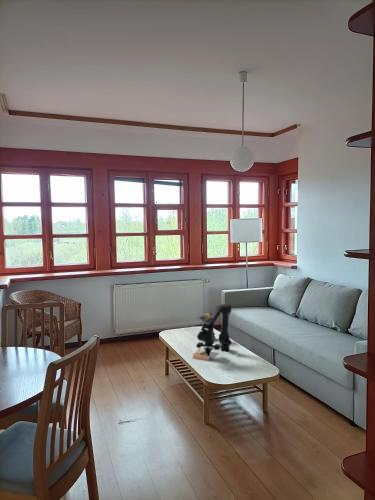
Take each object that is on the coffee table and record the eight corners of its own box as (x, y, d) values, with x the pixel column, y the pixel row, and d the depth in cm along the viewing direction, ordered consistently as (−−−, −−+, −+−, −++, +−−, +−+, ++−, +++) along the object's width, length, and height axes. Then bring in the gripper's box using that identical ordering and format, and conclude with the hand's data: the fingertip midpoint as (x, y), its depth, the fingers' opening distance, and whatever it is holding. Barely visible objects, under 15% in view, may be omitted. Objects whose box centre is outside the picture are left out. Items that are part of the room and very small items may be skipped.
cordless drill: (193, 339, 340) (193, 313, 338) (213, 337, 347) (213, 311, 345) (196, 342, 332) (197, 315, 330) (217, 340, 339) (217, 313, 337)
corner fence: (214, 354, 303) (214, 350, 303) (208, 360, 290) (208, 356, 289) (198, 351, 308) (198, 348, 308) (192, 358, 295) (192, 354, 294)
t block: (208, 355, 299) (208, 350, 299) (205, 359, 292) (205, 354, 292) (198, 354, 303) (198, 349, 302) (194, 357, 295) (194, 352, 295)
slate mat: (219, 353, 306) (219, 352, 306) (212, 362, 288) (212, 361, 288) (199, 350, 312) (199, 350, 312) (191, 358, 294) (191, 358, 294)
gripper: (222, 335, 298) (222, 354, 299) (200, 333, 305) (201, 351, 306) (218, 339, 287) (218, 359, 289) (196, 337, 294) (196, 356, 295)
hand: (208, 356), depth 295 cm, fingers closed
